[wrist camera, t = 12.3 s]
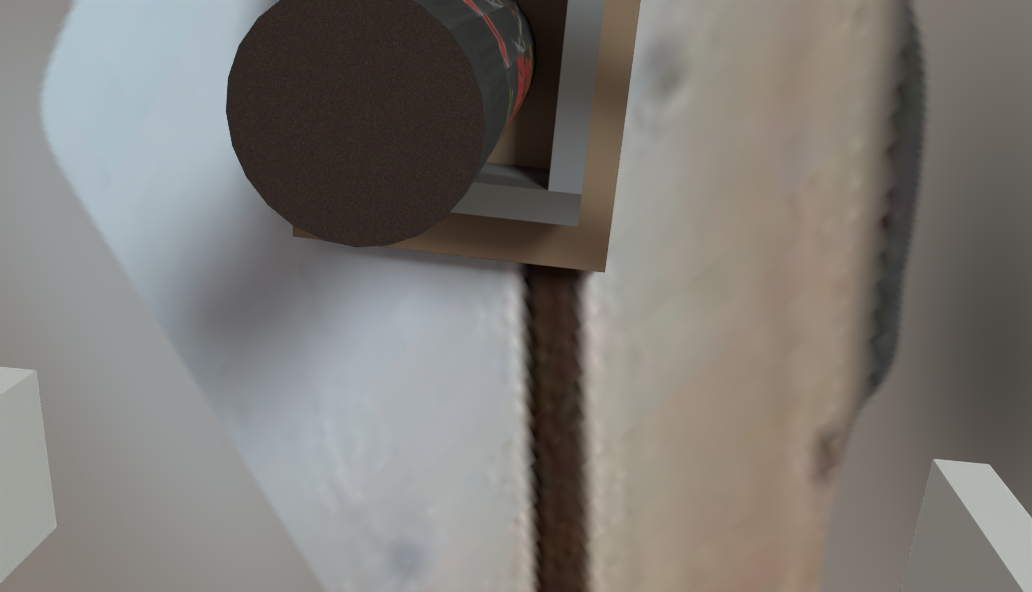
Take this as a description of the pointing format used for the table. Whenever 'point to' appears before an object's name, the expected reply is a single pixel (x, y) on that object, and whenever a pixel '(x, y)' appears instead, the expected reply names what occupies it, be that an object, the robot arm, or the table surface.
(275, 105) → the deodorant
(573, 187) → the socket stand
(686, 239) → the table surface
